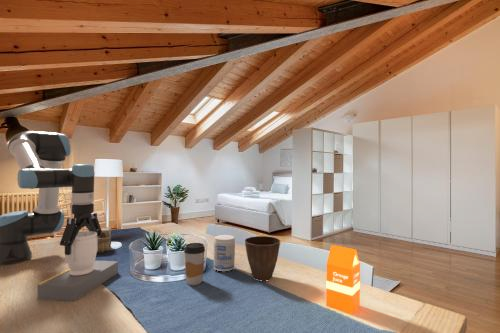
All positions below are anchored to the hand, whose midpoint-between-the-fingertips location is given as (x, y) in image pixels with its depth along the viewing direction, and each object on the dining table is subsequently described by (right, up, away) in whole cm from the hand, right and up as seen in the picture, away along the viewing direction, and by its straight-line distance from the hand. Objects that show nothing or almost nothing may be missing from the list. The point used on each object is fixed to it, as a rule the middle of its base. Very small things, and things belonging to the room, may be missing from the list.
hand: (82, 257), depth 111 cm
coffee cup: (+44, -11, +3) cm, 45 cm away
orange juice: (+98, -12, -15) cm, 100 cm away
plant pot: (+71, -12, +8) cm, 73 cm away
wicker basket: (-19, -11, +44) cm, 49 cm away
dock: (0, -11, 0) cm, 11 cm away
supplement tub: (+54, -12, +18) cm, 58 cm away
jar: (0, -6, 0) cm, 6 cm away
